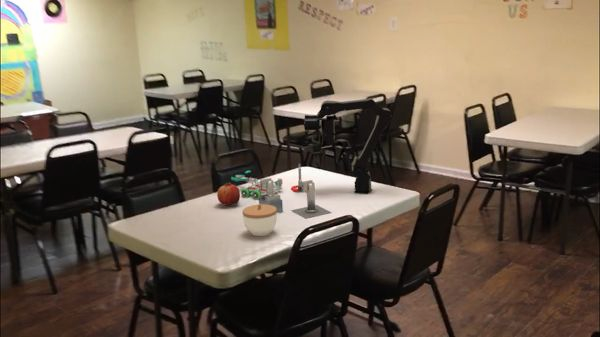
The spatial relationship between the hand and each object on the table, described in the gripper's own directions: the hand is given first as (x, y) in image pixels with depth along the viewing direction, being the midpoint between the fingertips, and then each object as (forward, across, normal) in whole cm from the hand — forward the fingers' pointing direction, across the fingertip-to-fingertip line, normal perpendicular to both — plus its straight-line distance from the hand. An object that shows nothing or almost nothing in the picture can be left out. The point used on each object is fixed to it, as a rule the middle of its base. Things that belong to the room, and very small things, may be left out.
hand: (328, 164), depth 261 cm
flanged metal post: (+13, +20, +18) cm, 30 cm away
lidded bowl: (+13, +48, +28) cm, 57 cm away
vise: (+13, +32, +6) cm, 35 cm away
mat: (+13, +20, +18) cm, 30 cm away
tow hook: (+14, +8, -13) cm, 20 cm away
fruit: (+14, +44, -11) cm, 47 cm away
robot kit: (+14, +27, -22) cm, 38 cm away
